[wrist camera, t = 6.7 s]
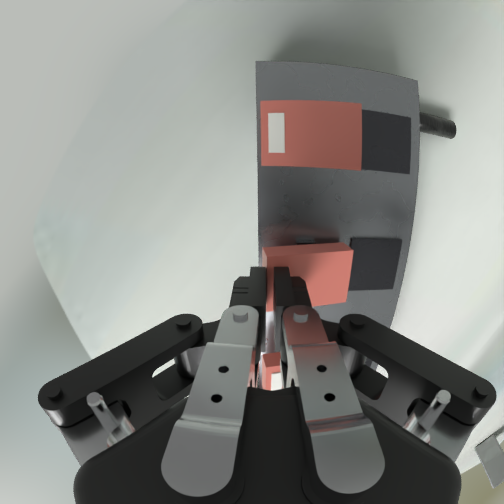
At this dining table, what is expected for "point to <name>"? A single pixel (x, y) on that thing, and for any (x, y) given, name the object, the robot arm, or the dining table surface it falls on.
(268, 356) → the rocker
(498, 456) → the skincare box
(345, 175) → the power strip
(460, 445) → the robot arm
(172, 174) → the dining table surface
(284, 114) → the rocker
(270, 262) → the rocker
